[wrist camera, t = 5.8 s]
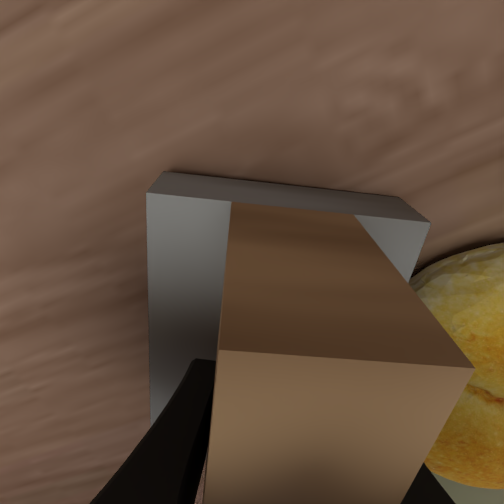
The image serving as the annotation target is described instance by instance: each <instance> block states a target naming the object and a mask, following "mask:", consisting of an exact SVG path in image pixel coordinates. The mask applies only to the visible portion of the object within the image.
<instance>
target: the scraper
mask: <svg viewBox="0 0 504 504" xmlns="http://www.w3.org/2000/svg"><path fill="white" fill-rule="evenodd" d="M146 212H147V263H148V315H149V367H150V419H151V426H152V425H153V424H154V422H155V421H156V419H157V418H158V416H159V415H160V413H161V412H162V410H163V409H164V408H165V406H166V405H167V403H168V402H169V400H170V399H171V397H172V395H173V394H174V392H175V391H176V389H177V387H178V386H179V384H180V382H181V381H182V379H183V377H184V375H185V373H186V371H187V369H188V367H189V365H190V363H191V361H192V360H194V359H195V358H198V359H206V360H214V361H216V368H215V379H214V390H213V400H212V410H211V421H210V431H209V441H208V448H207V454H206V458H205V460H206V469H205V480H204V491H203V502H202V504H400V503H401V502H402V500H403V498H404V496H405V495H406V493H407V491H408V489H409V487H410V486H411V484H412V482H413V480H414V478H415V477H416V475H417V473H418V471H419V469H420V468H421V466H422V464H423V462H424V460H425V459H426V457H427V455H428V453H429V451H430V450H431V448H432V446H433V444H434V442H435V441H436V439H437V437H438V435H439V433H440V432H441V430H442V428H443V426H444V425H445V423H446V421H447V419H448V417H449V416H450V414H451V412H452V410H453V408H454V407H455V405H456V403H457V401H458V399H459V398H460V396H461V394H462V392H463V390H464V389H465V387H466V385H467V383H468V381H469V380H470V378H471V376H472V374H473V372H474V371H475V369H476V368H475V367H474V366H473V364H472V363H471V362H470V361H469V359H468V358H467V357H466V356H465V354H464V353H463V352H462V351H461V349H460V348H459V347H458V346H457V344H456V343H455V342H454V341H453V339H452V338H451V337H450V336H449V334H448V333H447V332H446V330H445V329H444V328H443V327H442V325H441V324H440V323H439V322H438V320H437V319H436V318H435V317H434V315H433V314H432V313H431V312H430V310H429V309H428V308H427V307H426V305H425V304H424V303H423V301H422V300H421V299H420V298H419V296H418V295H417V294H416V293H415V291H414V290H413V289H412V288H411V286H410V285H409V284H408V283H409V280H410V277H411V275H412V272H413V269H414V267H415V264H416V262H417V259H418V256H419V254H420V251H421V248H422V246H423V243H424V241H425V238H426V235H427V233H428V230H429V227H430V225H431V222H430V221H428V220H427V219H426V218H425V217H423V216H422V215H421V214H420V213H418V212H417V211H416V210H414V209H413V208H412V207H411V206H409V205H408V204H407V203H406V202H404V201H403V200H402V199H400V198H399V197H391V196H382V195H373V194H364V193H355V192H346V191H337V190H328V189H319V188H310V187H301V186H292V185H282V184H273V183H264V182H255V181H246V180H237V179H228V178H219V177H210V176H201V175H192V174H183V173H174V172H165V171H163V172H162V174H161V175H160V176H159V177H158V179H157V180H156V181H155V182H154V184H153V185H152V186H151V187H150V188H149V190H148V191H147V192H146Z"/></svg>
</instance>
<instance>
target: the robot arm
mask: <svg viewBox="0 0 504 504" xmlns="http://www.w3.org/2000/svg"><path fill="white" fill-rule="evenodd" d="M215 368H216V361H214V360H206V359H198V358H195V359H194V360H192V361H191V363H190V365H189V367H188V369H187V371H186V373H185V375H184V377H183V379H182V381H181V382H180V384H179V386H178V387H177V389H176V391H175V392H174V394H173V395H172V397H171V399H170V400H169V402H168V403H167V405H166V406H165V408H164V409H163V410H162V412H161V413H160V415H159V416H158V418H157V419H156V421H155V422H154V424H153V425H152V426H151V428H150V429H149V431H148V432H147V433H146V435H145V436H144V437H143V439H142V440H141V441H140V443H139V444H138V445H137V446H136V448H135V449H134V450H133V452H132V453H131V454H130V456H129V457H128V458H127V460H126V461H125V462H124V463H123V465H122V466H121V467H120V468H119V470H118V471H117V472H116V473H115V474H114V476H113V477H112V478H111V479H110V480H109V482H108V483H107V484H106V485H105V486H104V488H103V489H102V490H101V491H100V492H99V493H98V494H97V496H96V497H95V498H94V499H93V500H92V501H91V502H90V504H194V502H195V498H196V494H197V490H198V486H199V482H200V478H201V474H202V470H203V466H204V462H205V458H206V454H207V448H208V441H209V431H210V421H211V410H212V400H213V390H214V379H215ZM400 504H456V503H455V502H454V501H453V500H452V498H451V497H450V496H449V495H448V493H447V492H446V491H445V489H444V488H443V487H442V486H441V484H440V483H439V482H438V480H437V479H436V478H435V477H434V475H433V474H432V473H431V471H430V470H429V469H428V467H427V466H426V465H425V463H424V462H423V464H422V466H421V468H420V469H419V471H418V473H417V475H416V477H415V478H414V480H413V482H412V484H411V486H410V487H409V489H408V491H407V493H406V495H405V496H404V498H403V500H402V502H401V503H400Z"/></svg>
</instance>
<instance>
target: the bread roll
mask: <svg viewBox="0 0 504 504" xmlns="http://www.w3.org/2000/svg"><path fill="white" fill-rule="evenodd" d="M408 284H409V285H410V286H411V288H412V289H413V290H414V291H415V293H416V294H417V295H418V296H419V298H420V299H421V300H422V301H423V303H424V304H425V305H426V307H427V308H428V309H429V310H430V312H431V313H432V314H433V315H434V317H435V318H436V319H437V320H438V322H439V323H440V324H441V325H442V327H443V328H444V329H445V330H446V332H447V333H448V334H449V336H450V337H451V338H452V339H453V341H454V342H455V343H456V344H457V346H458V347H459V348H460V349H461V351H462V352H463V353H464V354H465V356H466V357H467V358H468V359H469V361H470V362H471V363H472V364H473V366H474V367H475V368H476V369H475V371H474V372H473V374H472V376H471V378H470V380H469V381H468V383H467V385H466V387H465V389H464V390H463V392H462V394H461V396H460V398H459V399H458V401H457V403H456V405H455V407H454V408H453V410H452V412H451V414H450V416H449V417H448V419H447V421H446V423H445V425H444V426H443V428H442V430H441V432H440V433H439V435H438V437H437V439H436V441H435V442H434V444H433V446H432V448H431V450H430V451H429V453H428V455H427V457H426V459H425V460H424V463H425V465H426V466H427V467H428V469H429V470H430V471H431V472H433V473H435V474H438V475H440V476H442V477H444V478H446V479H449V480H452V481H455V482H458V483H461V484H464V485H468V486H472V487H478V488H488V489H504V243H500V244H494V245H487V246H484V247H480V248H477V249H473V250H470V251H466V252H463V253H459V254H456V255H453V256H451V257H448V258H445V259H443V260H441V261H438V262H436V263H434V264H432V265H430V266H428V267H426V268H425V269H424V270H422V271H421V272H420V273H418V274H417V275H415V276H414V277H412V278H411V279H410V280H409V283H408Z"/></svg>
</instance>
